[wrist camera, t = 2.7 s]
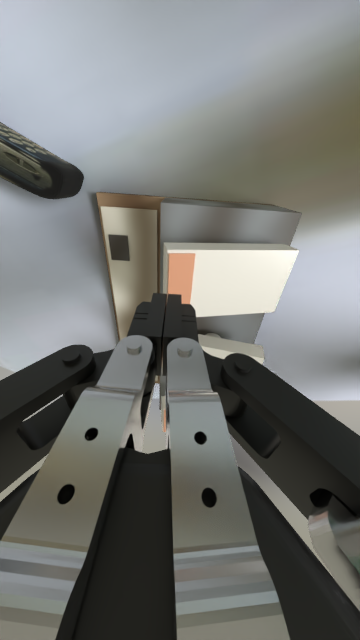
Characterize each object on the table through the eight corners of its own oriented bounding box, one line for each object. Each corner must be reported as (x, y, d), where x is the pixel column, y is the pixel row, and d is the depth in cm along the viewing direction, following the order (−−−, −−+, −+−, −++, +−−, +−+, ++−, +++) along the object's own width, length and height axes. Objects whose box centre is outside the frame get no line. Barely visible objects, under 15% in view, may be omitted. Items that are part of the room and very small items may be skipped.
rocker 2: (261, 340, 19) (264, 359, 17) (247, 374, 22) (249, 394, 20) (169, 323, 20) (162, 339, 18) (168, 358, 23) (161, 375, 21)
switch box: (273, 204, 18) (302, 213, 14) (221, 381, 34) (227, 412, 29) (100, 191, 18) (72, 196, 14) (126, 376, 33) (117, 407, 29)
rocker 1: (278, 241, 15) (300, 251, 13) (259, 297, 18) (275, 313, 16) (162, 239, 14) (167, 250, 12) (161, 302, 16) (165, 320, 14)
